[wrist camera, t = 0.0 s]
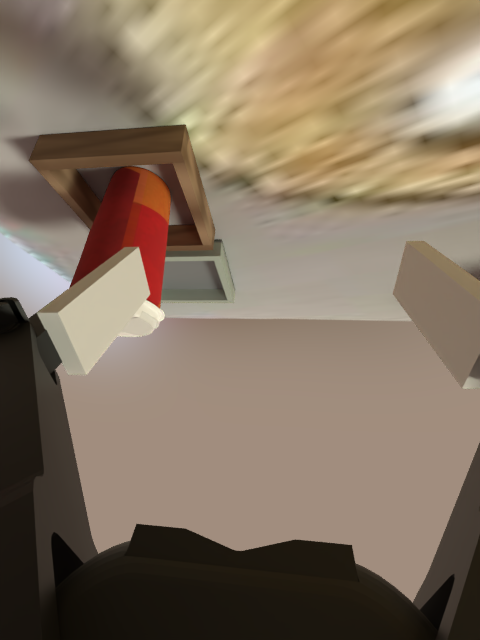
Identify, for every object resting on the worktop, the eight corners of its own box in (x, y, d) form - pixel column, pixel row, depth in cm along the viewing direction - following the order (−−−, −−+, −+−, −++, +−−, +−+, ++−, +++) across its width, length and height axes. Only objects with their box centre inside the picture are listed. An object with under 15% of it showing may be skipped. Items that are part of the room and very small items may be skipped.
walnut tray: (40, 135, 25) (28, 160, 24) (185, 124, 23) (180, 151, 22) (115, 232, 37) (110, 252, 36) (215, 229, 35) (213, 250, 34)
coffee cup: (104, 207, 33) (69, 331, 27) (93, 143, 25) (42, 296, 20) (178, 224, 35) (159, 343, 30) (188, 170, 28) (165, 315, 22)
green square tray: (119, 242, 39) (115, 257, 38) (221, 239, 37) (220, 256, 36) (157, 290, 52) (155, 302, 51) (234, 289, 50) (234, 302, 49)
